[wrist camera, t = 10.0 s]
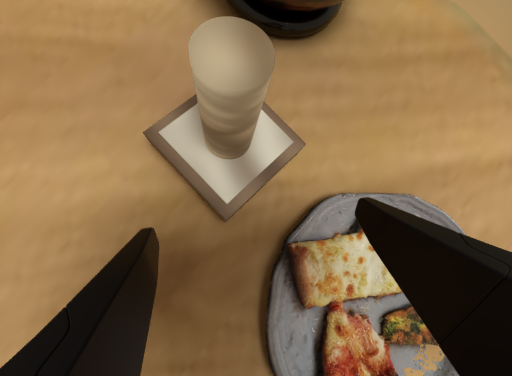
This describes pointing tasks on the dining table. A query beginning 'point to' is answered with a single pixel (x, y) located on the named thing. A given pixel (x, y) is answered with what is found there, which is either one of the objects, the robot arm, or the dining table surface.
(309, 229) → the food plate
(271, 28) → the amphora vase
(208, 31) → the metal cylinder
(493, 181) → the dining table surface
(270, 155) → the plinth
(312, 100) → the dining table surface
